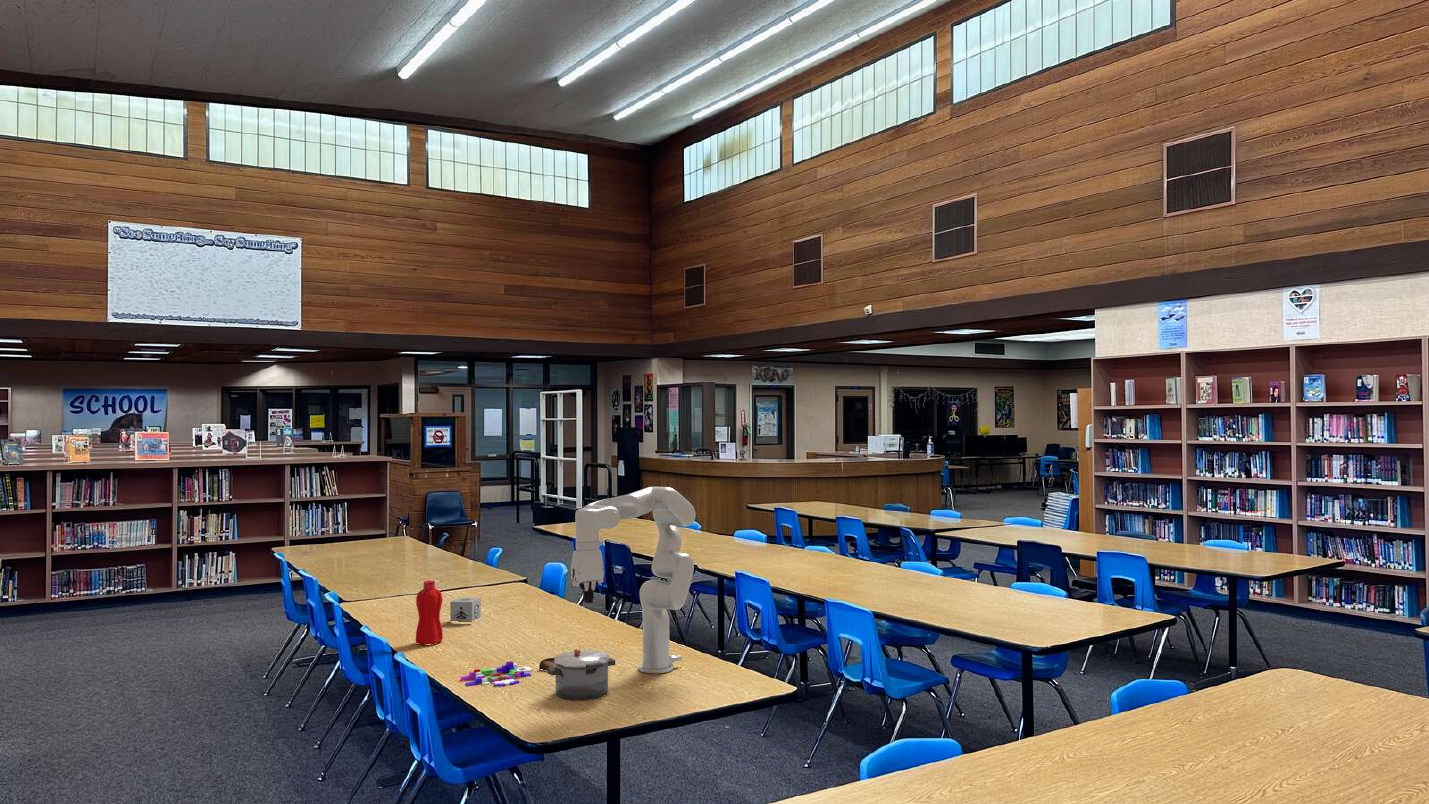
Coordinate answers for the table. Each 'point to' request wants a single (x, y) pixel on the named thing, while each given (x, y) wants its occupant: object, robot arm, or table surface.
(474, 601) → the icon cube
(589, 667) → the lid
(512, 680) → the building block set
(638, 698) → the table surface
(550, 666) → the sunglasses case
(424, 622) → the water bottle
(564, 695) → the pot
